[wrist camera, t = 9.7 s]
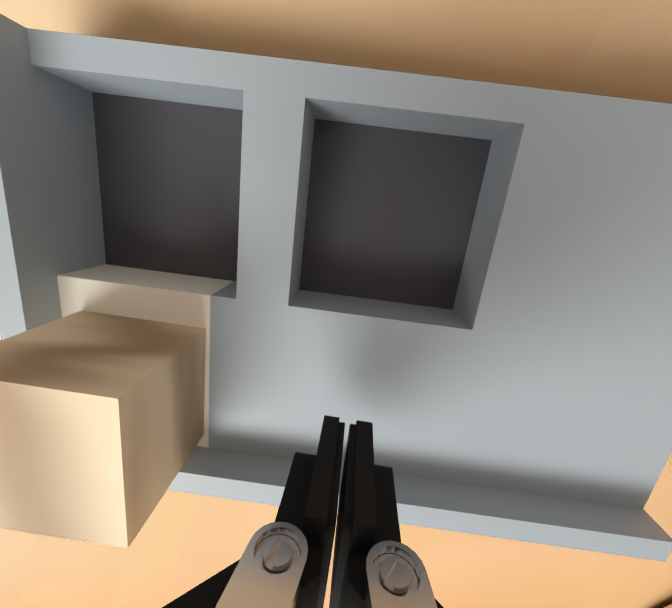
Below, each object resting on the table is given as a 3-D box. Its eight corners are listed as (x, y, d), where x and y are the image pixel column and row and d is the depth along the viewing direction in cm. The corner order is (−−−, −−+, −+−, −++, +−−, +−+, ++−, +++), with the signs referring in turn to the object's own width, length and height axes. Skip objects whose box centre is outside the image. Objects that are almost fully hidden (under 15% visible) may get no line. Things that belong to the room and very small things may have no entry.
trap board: (726, 141, 13) (915, 107, 8) (587, 473, 17) (665, 561, 13) (73, 64, 13) (-62, -5, 9) (104, 406, 18) (24, 469, 14)
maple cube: (206, 328, 13) (118, 398, 8) (203, 434, 14) (127, 548, 10) (81, 310, 13) (-78, 369, 8) (91, 417, 14) (-40, 522, 10)
